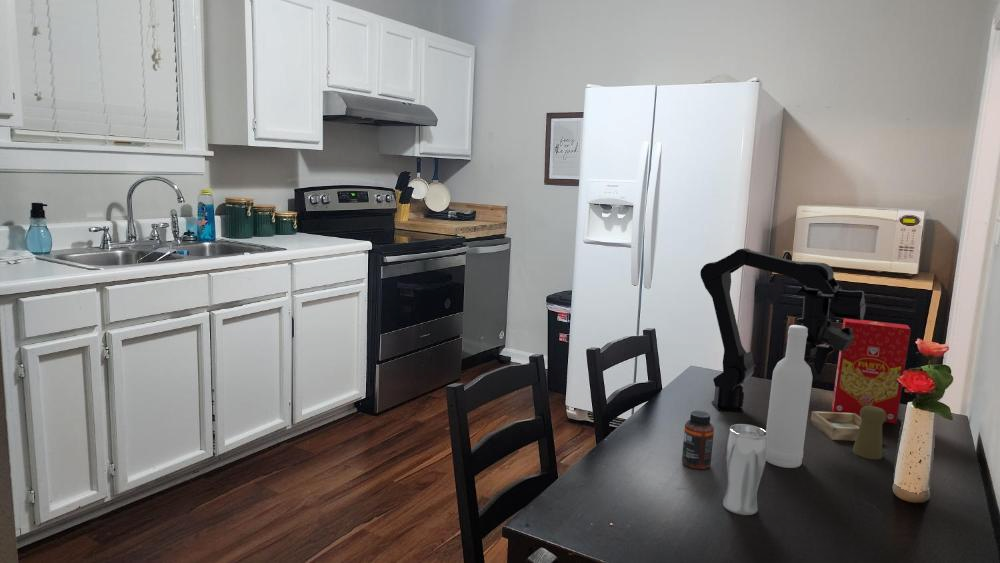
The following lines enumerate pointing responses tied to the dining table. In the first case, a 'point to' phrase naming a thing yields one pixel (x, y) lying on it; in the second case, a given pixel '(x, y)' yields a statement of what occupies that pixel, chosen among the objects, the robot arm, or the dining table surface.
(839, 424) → the oak box
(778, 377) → the bottle
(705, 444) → the supplement bottle
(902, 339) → the food packaging
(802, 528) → the dining table surface
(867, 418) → the olive green pepper shaker
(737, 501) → the beer glass
